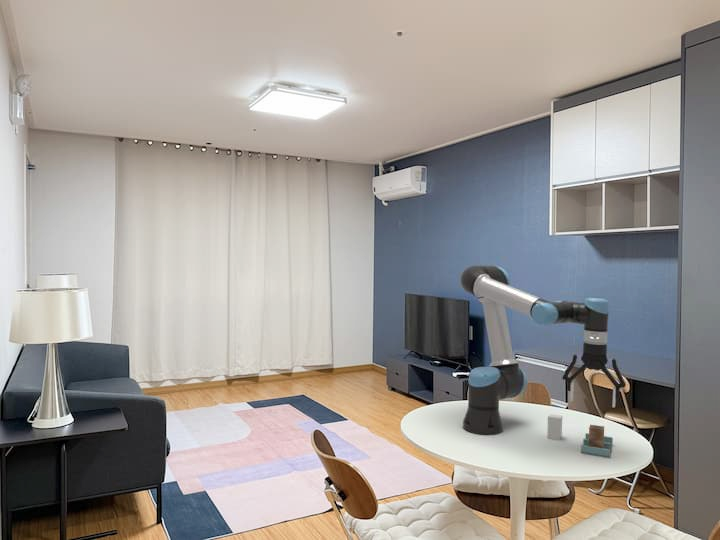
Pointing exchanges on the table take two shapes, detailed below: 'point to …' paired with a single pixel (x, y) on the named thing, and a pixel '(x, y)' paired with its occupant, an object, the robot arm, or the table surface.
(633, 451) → the table surface
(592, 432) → the walnut plug
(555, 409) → the table surface
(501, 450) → the table surface
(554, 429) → the white rectangular block
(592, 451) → the teal-ribbed grey panel
